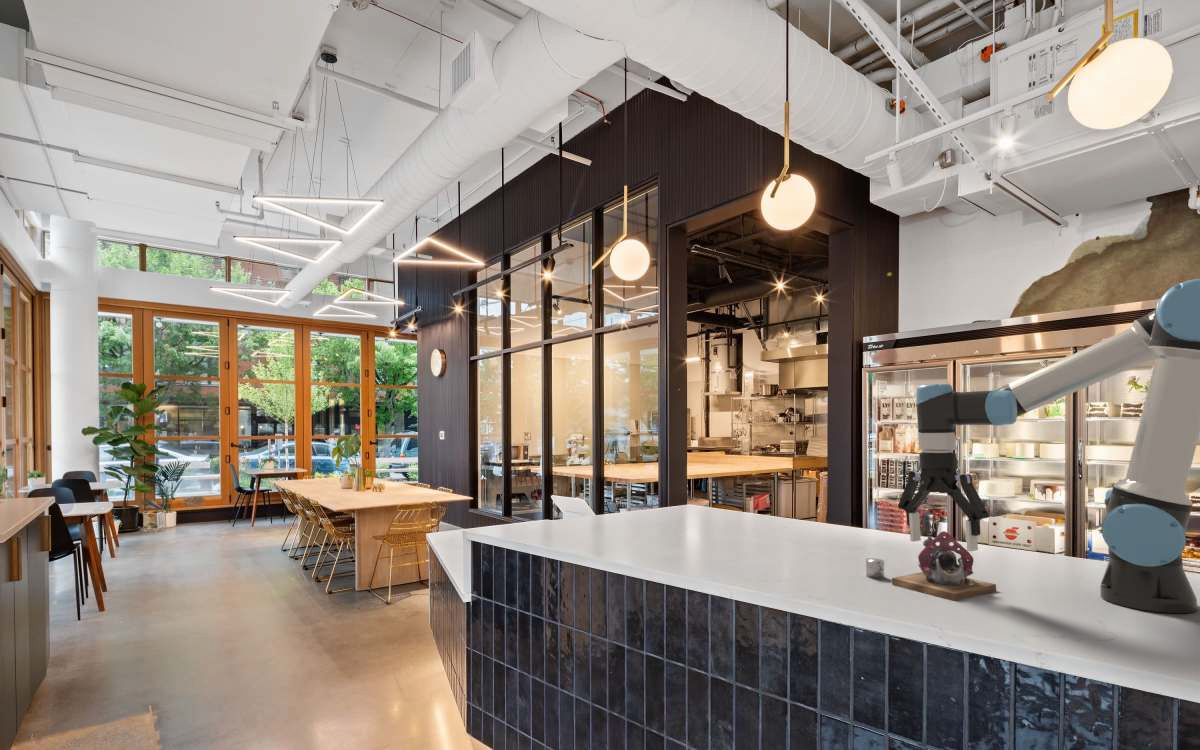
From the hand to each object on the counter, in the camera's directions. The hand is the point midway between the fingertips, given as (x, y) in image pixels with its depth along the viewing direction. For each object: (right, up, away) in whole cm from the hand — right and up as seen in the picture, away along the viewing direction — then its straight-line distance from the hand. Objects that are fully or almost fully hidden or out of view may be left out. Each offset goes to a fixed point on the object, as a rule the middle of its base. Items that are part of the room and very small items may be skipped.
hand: (942, 545), depth 144 cm
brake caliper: (+1, -8, 0) cm, 8 cm away
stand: (0, -9, 0) cm, 9 cm away
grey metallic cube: (-11, -10, +10) cm, 18 cm away
